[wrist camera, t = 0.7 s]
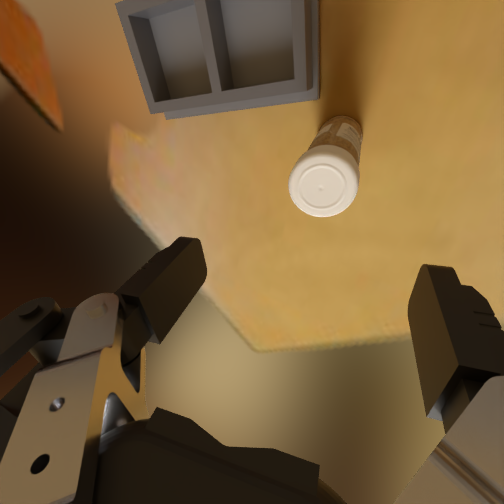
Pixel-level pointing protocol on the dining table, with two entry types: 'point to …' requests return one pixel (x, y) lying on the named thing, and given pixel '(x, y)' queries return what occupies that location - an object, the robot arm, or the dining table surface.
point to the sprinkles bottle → (328, 169)
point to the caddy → (223, 53)
